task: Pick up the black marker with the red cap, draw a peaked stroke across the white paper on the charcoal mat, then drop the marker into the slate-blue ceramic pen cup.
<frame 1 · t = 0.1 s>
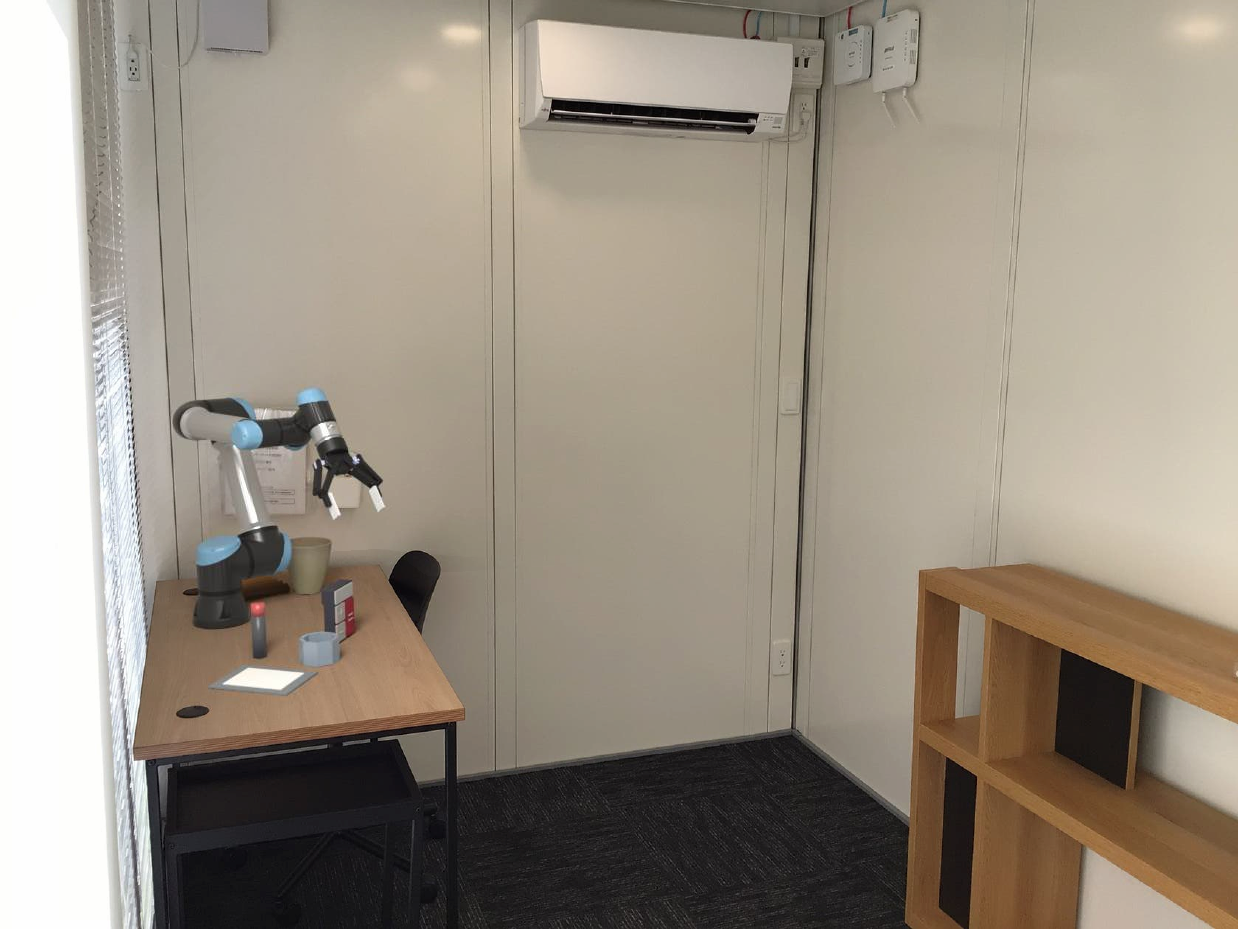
hand: (359, 513, 266), 36 cm above the table, tool tilted 35°, fingers open, 13 cm apart
writing pad: (264, 680, 247), on the table
pan flute: (233, 594, 321), on the table
pen cup: (319, 660, 261), on the table
plant pot: (308, 592, 322), on the table
grey and red block: (339, 639, 278), on the table
marker: (259, 656, 263), on the table
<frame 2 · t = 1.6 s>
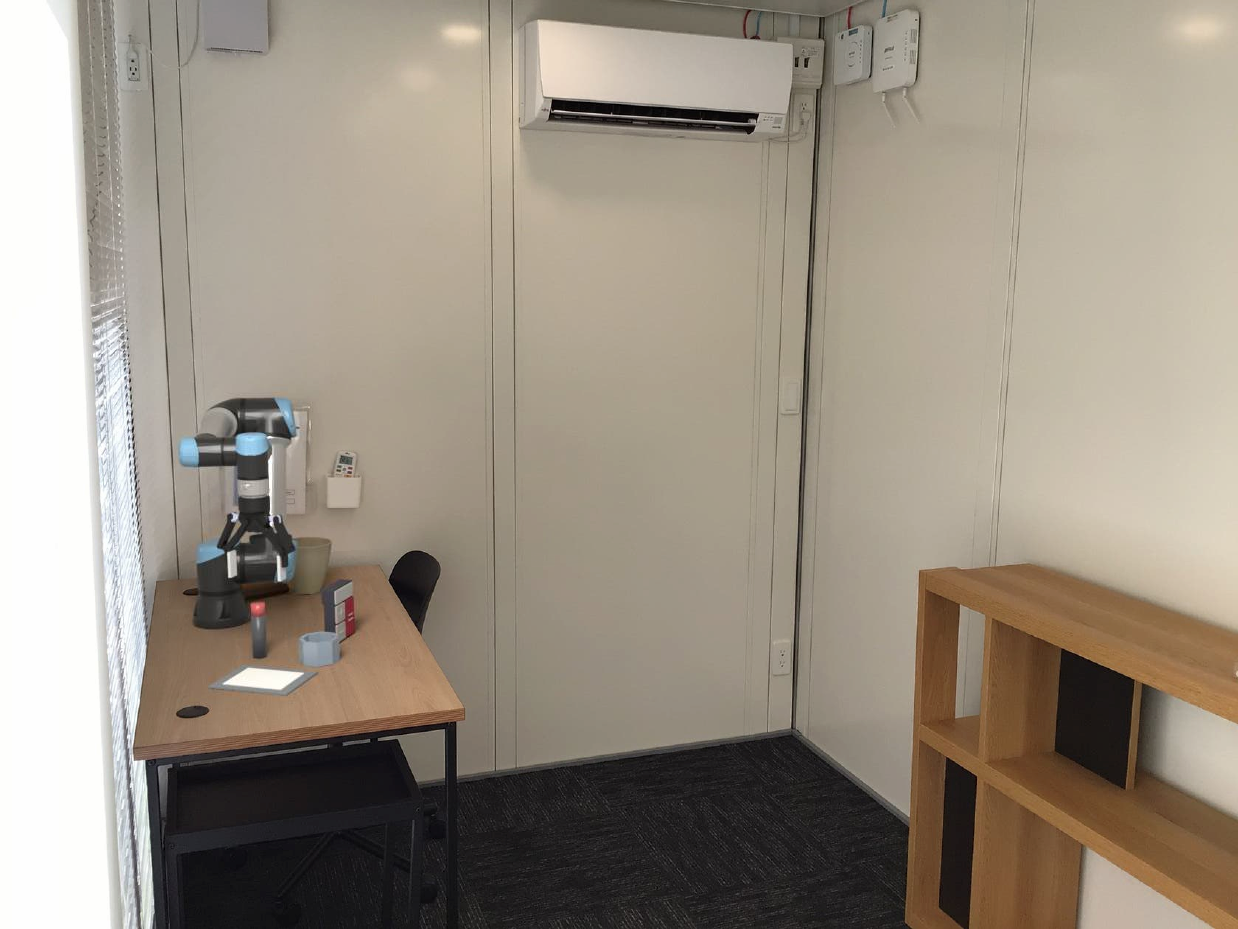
hand: (257, 578, 260), 21 cm above the table, tool pointing down, fingers open, 13 cm apart
nothing on the table moved.
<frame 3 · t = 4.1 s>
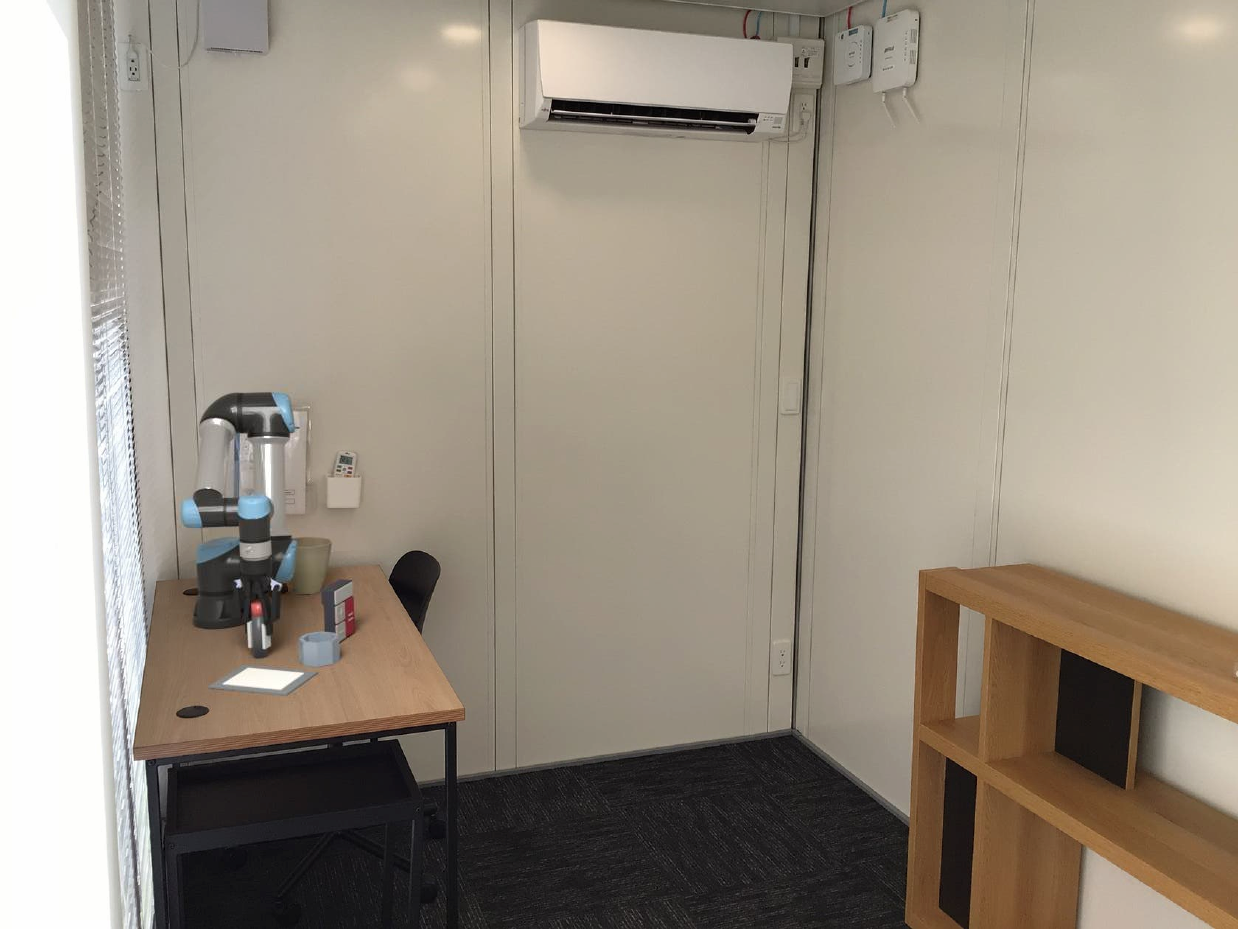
hand: (259, 646, 263), 3 cm above the table, tool pointing down, fingers closed on marker, 3 cm apart
marker: (260, 656, 264), on the table, touching gripper
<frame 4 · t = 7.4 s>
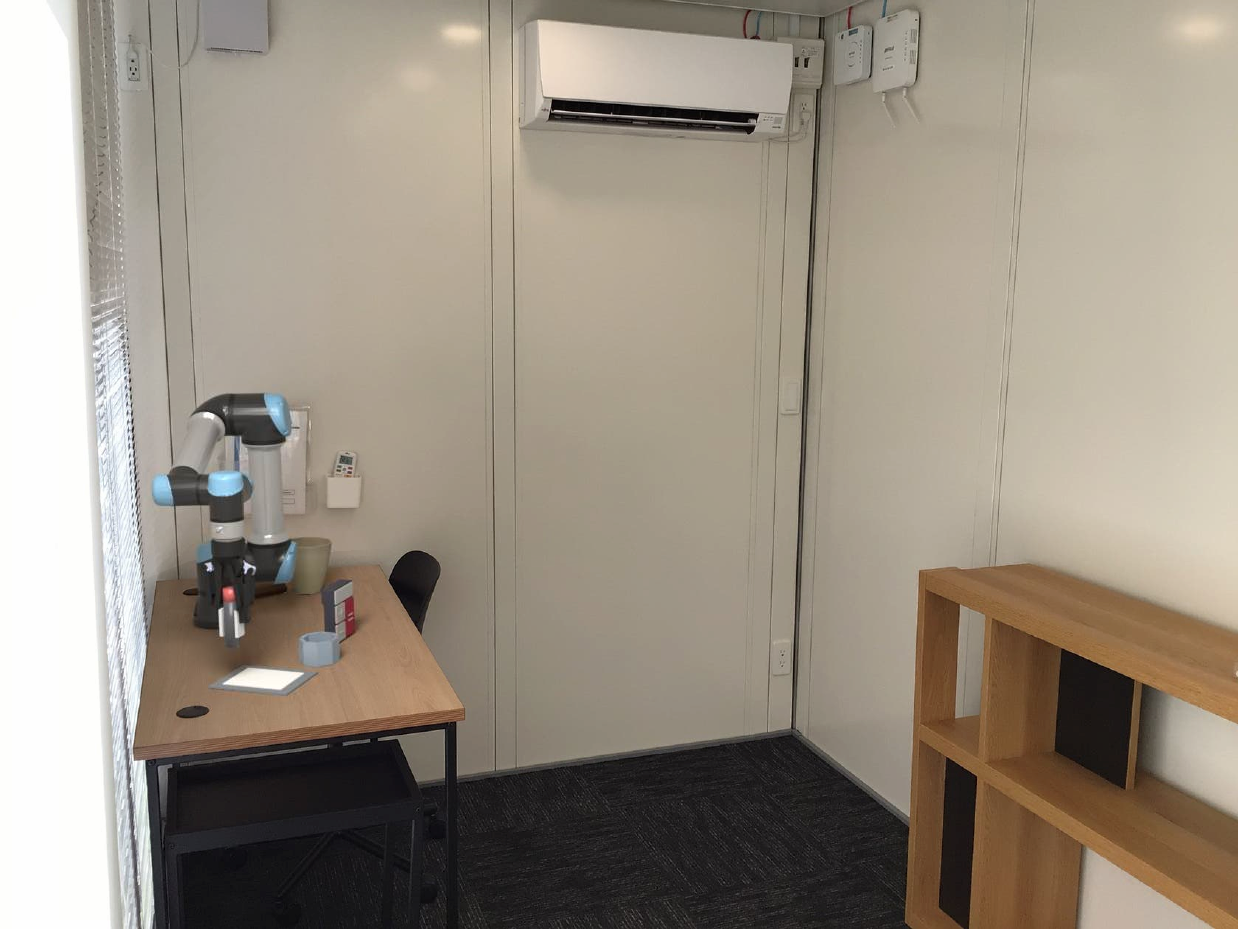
hand: (232, 635, 243), 12 cm above the table, tool pointing down, fingers closed on marker, 3 cm apart
marker: (232, 645, 244), point 9 cm above the table, touching gripper
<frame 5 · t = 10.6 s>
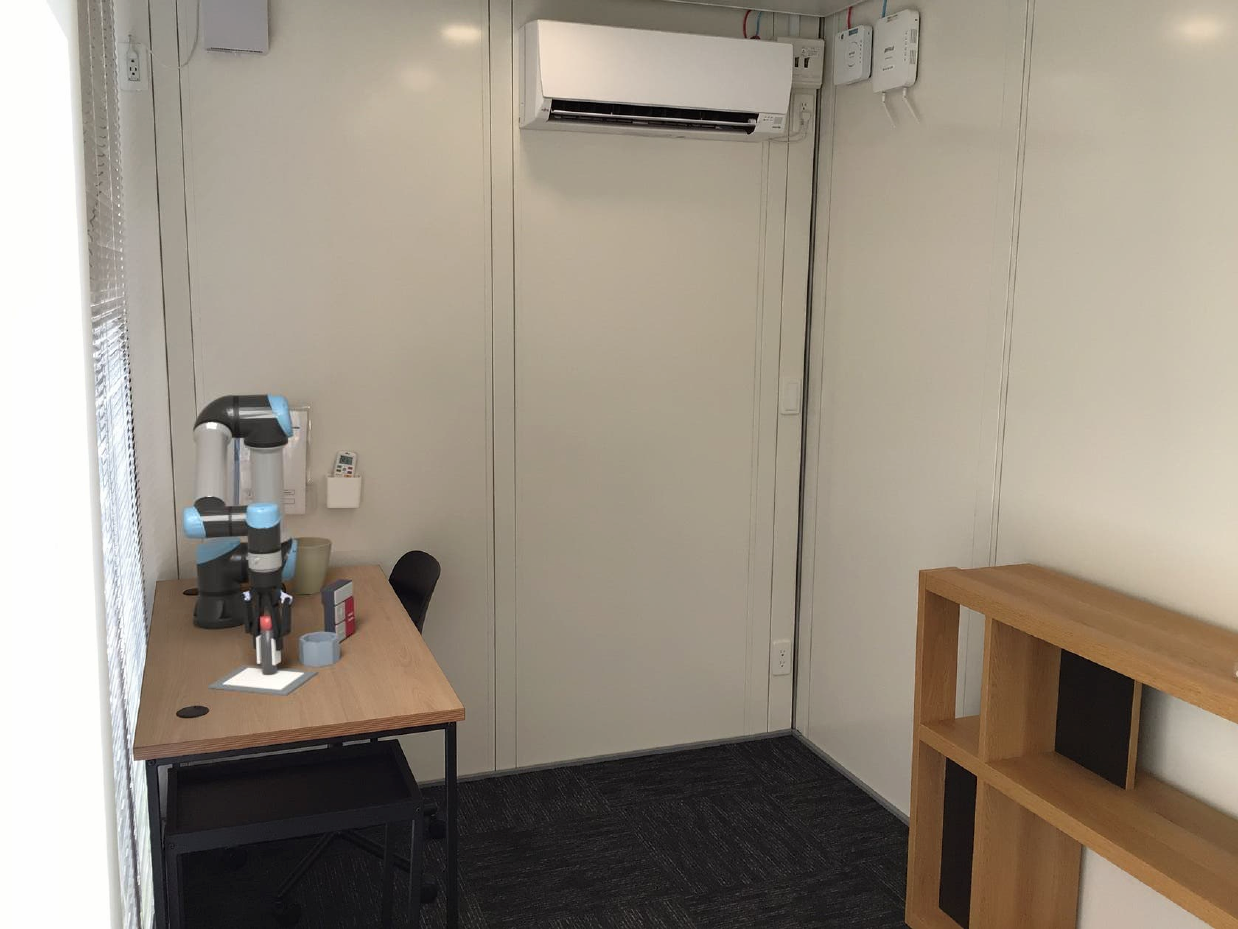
hand: (269, 662, 250), 3 cm above the table, tool pointing down, fingers closed on marker, 3 cm apart
marker: (269, 672, 250), point 1 cm above the table, touching gripper
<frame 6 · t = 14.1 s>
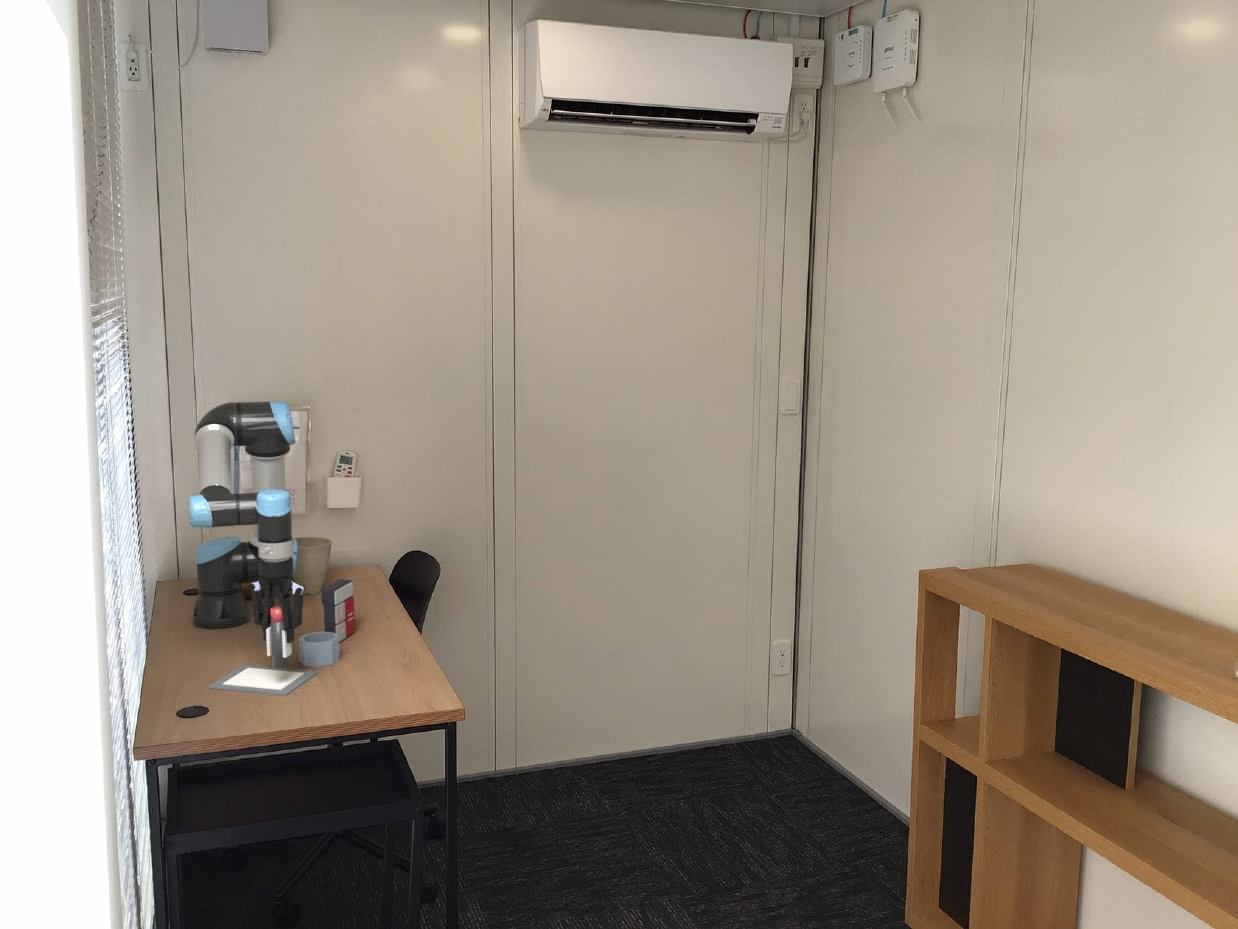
hand: (279, 654, 242), 8 cm above the table, tool pointing down, fingers closed on marker, 3 cm apart
marker: (280, 665, 243), point 5 cm above the table, touching gripper
when the fingers open (8 cm above the table, at t = 17.4 s): marker drops 3 cm, resting on pen cup.
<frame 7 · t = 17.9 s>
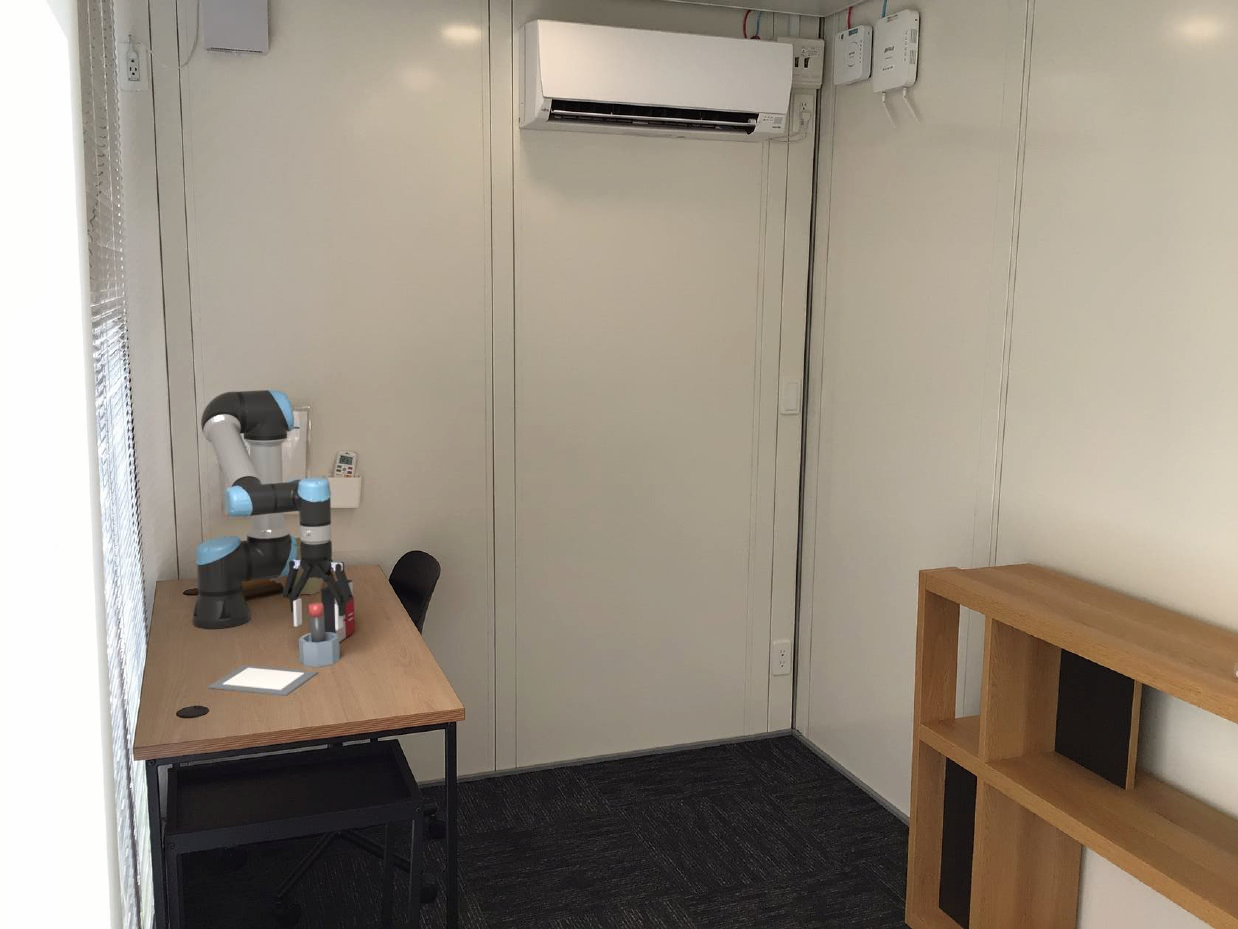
hand: (318, 626, 260), 9 cm above the table, tool pointing down, fingers open, 10 cm apart
marker: (320, 657, 261), point 1 cm above the table, touching pen cup
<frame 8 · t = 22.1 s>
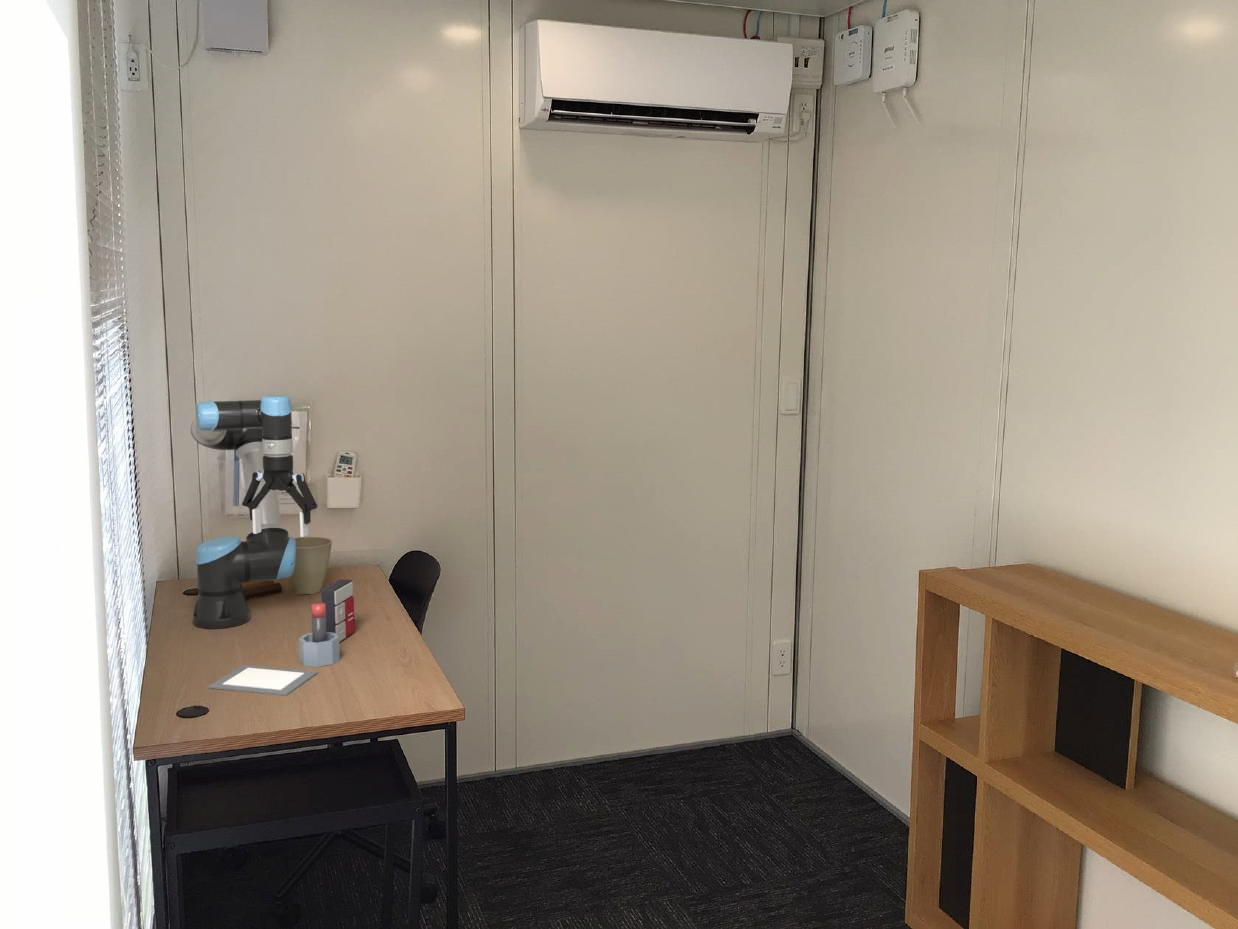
hand: (280, 534, 273), 29 cm above the table, tool pointing down, fingers open, 13 cm apart
at the end: marker 0.1 cm off-centre on the pen cup, point 0.6 cm above the pen cup's base; the gripper is holding nothing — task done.
